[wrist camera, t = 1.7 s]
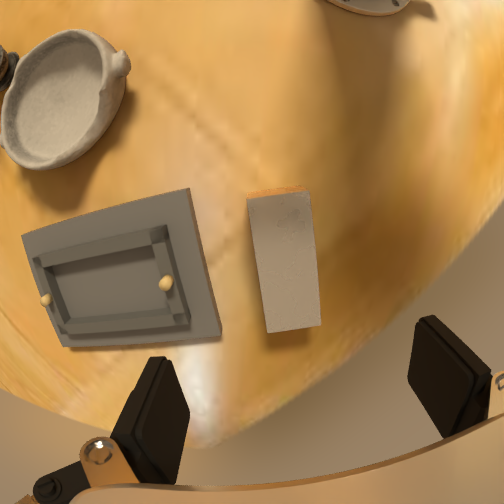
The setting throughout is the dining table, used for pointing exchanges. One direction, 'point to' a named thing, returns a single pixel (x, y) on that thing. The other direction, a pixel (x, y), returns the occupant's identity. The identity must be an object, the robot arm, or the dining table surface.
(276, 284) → the aluminium bar
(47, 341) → the dining table surface
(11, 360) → the dining table surface
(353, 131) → the dining table surface
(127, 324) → the switch frame
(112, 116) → the dish
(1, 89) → the dark grey chess piece
